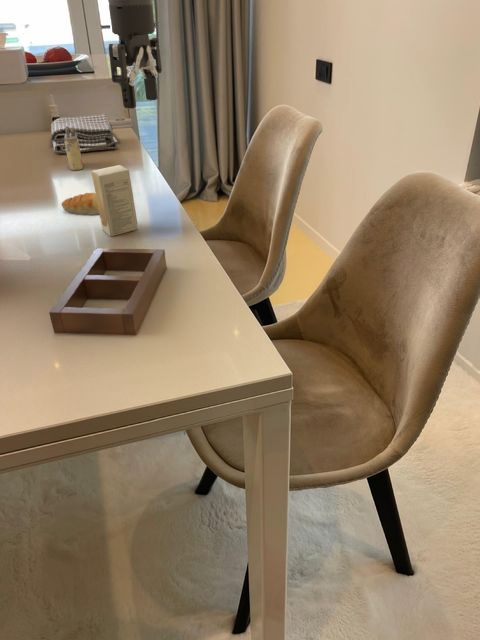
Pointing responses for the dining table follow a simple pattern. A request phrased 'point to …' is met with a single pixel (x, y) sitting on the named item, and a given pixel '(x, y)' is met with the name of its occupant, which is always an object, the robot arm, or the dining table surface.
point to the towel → (84, 133)
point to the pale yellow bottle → (73, 149)
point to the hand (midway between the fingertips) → (141, 103)
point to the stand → (110, 292)
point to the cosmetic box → (115, 199)
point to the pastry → (82, 204)
